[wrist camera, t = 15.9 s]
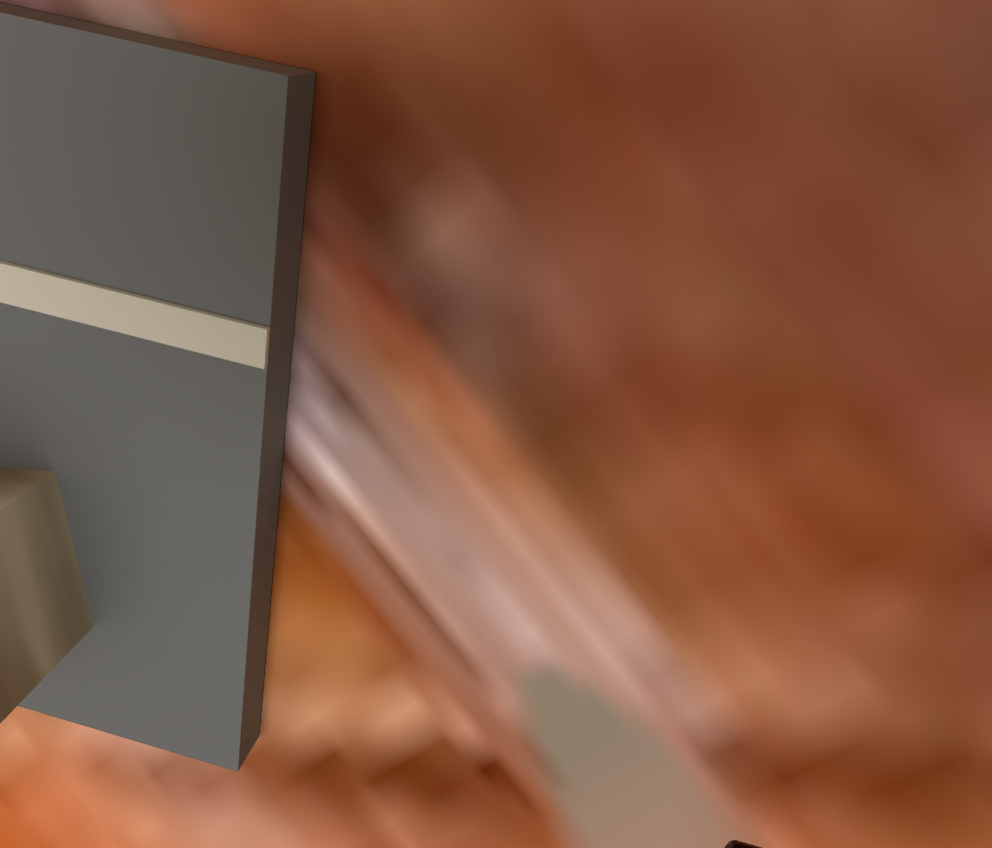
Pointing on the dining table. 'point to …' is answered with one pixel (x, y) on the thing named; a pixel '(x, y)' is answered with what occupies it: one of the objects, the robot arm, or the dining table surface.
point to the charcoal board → (153, 357)
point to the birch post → (36, 583)
